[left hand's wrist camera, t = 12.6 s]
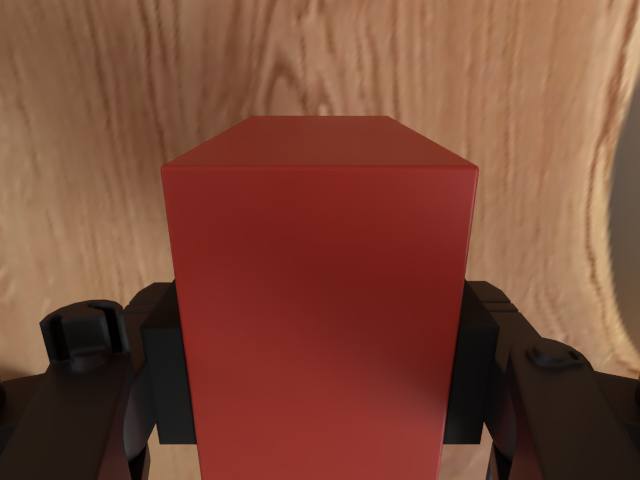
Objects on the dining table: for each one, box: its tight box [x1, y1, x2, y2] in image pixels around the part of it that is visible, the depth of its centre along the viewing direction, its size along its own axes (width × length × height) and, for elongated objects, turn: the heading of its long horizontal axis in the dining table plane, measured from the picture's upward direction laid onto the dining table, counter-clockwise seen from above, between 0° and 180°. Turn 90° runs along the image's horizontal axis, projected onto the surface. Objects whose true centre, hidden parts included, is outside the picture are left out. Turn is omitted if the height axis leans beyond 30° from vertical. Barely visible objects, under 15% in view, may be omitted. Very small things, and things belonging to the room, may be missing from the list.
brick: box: [161, 116, 479, 480], centre depth 12 cm, size 8×5×9 cm, turn 0°
